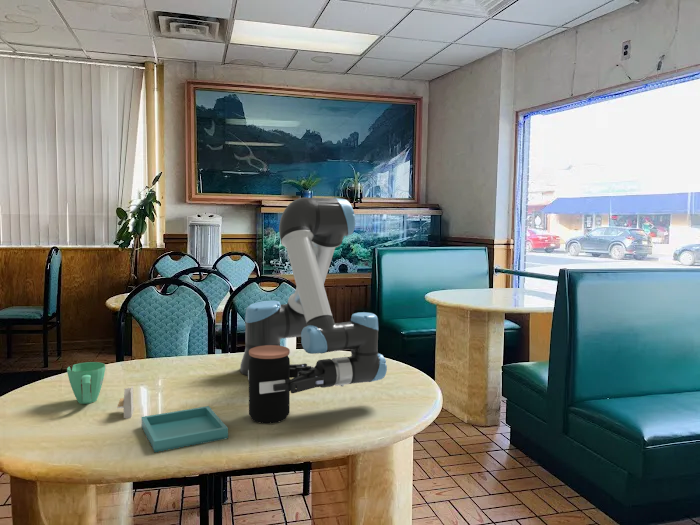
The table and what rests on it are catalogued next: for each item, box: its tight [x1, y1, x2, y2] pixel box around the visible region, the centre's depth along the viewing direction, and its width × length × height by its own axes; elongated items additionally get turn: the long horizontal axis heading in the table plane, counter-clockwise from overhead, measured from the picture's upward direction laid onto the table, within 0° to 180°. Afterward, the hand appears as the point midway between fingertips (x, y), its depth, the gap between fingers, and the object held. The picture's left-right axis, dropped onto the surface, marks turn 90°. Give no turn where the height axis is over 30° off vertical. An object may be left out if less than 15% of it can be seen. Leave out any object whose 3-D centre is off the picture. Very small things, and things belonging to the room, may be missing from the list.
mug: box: [66, 361, 106, 405], centre depth 157 cm, size 15×10×10 cm
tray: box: [140, 405, 229, 453], centre depth 138 cm, size 17×17×3 cm
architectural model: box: [116, 385, 134, 419], centre depth 150 cm, size 3×7×7 cm, turn 16°
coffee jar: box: [248, 345, 291, 425], centre depth 147 cm, size 11×11×18 cm
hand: (253, 381), depth 146 cm, fingers closed on coffee jar, 11 cm apart
